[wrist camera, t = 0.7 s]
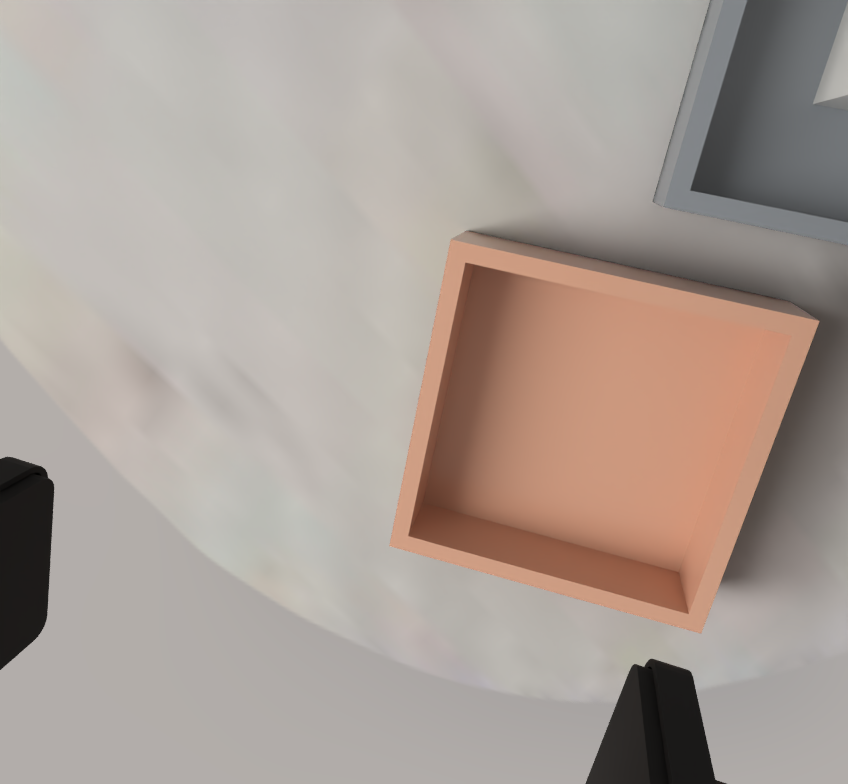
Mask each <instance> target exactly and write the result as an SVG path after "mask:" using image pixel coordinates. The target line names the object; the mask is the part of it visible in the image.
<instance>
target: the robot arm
mask: <svg viewBox="0 0 848 784" xmlns="http://www.w3.org/2000/svg"><path fill="white" fill-rule="evenodd" d="M53 500H54V484H53V482H52V480H50V479H49V478H48V475H47V472H46V470H45V469H44V468H43V467H41V466H38V465H35V464H32V463H29V462H25V461H22V460H19V459H16V458H13V457H5V458H2V459H0V670H1V669H2V668H3V667H4V666H5V665H6V664H8V663H9V662H10V661H11V660H12V659H13V658H15V657H16V656H17V655H18V654H19V653H20V652H21V651H22V650H24V649H25V648H26V647H27V646H28V645H29V644H30V643H32V642H33V641H34V640H35V639H36V638H37V637H38V635H39V634H40V633H41V631H42V629H43V627H44V625H45V622H46V619H47V609H48V590H49V572H50V555H51V537H52V519H53ZM586 784H726V783H722V782H720V781H717V780H715V777H714V772H713V768H712V763H711V758H710V754H709V749H708V744H707V740H706V736H705V731H704V727H703V722H702V717H701V713H700V708H699V703H698V699H697V694H696V689H695V685H694V680H693V676H692V674H691V672H690V671H689V670H686V669H683V668H680V667H677V666H673V665H670V664H667V663H664V662H661V661H657V660H654V659H650V660H648V662H647V663H646V665H645V667H642V666H639V665H636V664H634V665H633V666H632V667H631V669H630V671H629V674H628V676H627V679H626V681H625V684H624V687H623V689H622V692H621V694H620V697H619V699H618V702H617V704H616V707H615V710H614V712H613V715H612V717H611V720H610V722H609V725H608V727H607V730H606V733H605V735H604V738H603V740H602V743H601V745H600V748H599V751H598V753H597V756H596V758H595V761H594V763H593V766H592V769H591V771H590V774H589V776H588V779H587V781H586Z"/></svg>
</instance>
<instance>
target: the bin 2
mask: <svg viewBox="0 0 848 784" xmlns="http://www.w3.org/2000/svg"><path fill="white" fill-rule="evenodd" d="M847 2H848V0H710V3H709V7H708V10H707V14H706V17H705V21H704V24H703V28H702V31H701V35H700V38H699V42H698V45H697V49H696V52H695V56H694V59H693V63H692V66H691V70H690V73H689V77H688V80H687V84H686V87H685V91H684V94H683V98H682V101H681V105H680V108H679V112H678V115H677V118H676V122H675V125H674V129H673V132H672V136H671V139H670V143H669V146H668V150H667V153H666V157H665V160H664V164H663V167H662V171H661V174H660V178H659V181H658V185H657V188H656V192H655V195H654V199H653V202H654V203H656V204H658V205H660V206H662V207H665V208H670V209H675V210H680V211H685V212H690V213H694V214H699V215H704V216H709V217H714V218H719V219H723V220H728V221H733V222H738V223H743V224H748V225H752V226H757V227H762V228H767V229H772V230H777V231H781V232H786V233H791V234H796V235H801V236H806V237H811V238H815V239H820V240H825V241H830V242H835V243H840V244H844V245H848V111H847V110H842V109H837V108H831V107H826V106H820V105H815V104H813V102H814V99H815V96H816V93H817V90H818V87H819V84H820V81H821V78H822V75H823V73H824V70H825V67H826V64H827V61H828V58H829V55H830V52H831V49H832V46H833V43H834V40H835V37H836V35H837V32H838V29H839V26H840V23H841V20H842V17H843V14H844V11H845V8H846V5H847Z"/></svg>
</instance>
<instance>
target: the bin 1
mask: <svg viewBox="0 0 848 784" xmlns="http://www.w3.org/2000/svg"><path fill="white" fill-rule="evenodd" d="M819 322H820V321H819V320H817V319H816V318H814V317H813V316H811V315H810V314H808V313H807V312H805V311H803V310H802V309H800V308H799V307H797V306H796V305H794V304H793V303H791V302H790V301H786V300H781V299H777V298H772V297H768V296H763V295H759V294H754V293H749V292H745V291H740V290H736V289H731V288H727V287H722V286H717V285H713V284H708V283H704V282H699V281H695V280H690V279H685V278H681V277H676V276H672V275H667V274H662V273H658V272H653V271H649V270H644V269H640V268H635V267H630V266H626V265H621V264H617V263H612V262H608V261H603V260H598V259H594V258H589V257H585V256H580V255H576V254H571V253H566V252H562V251H557V250H553V249H548V248H544V247H539V246H534V245H530V244H525V243H521V242H516V241H512V240H507V239H502V238H498V237H493V236H489V235H484V234H480V233H475V232H470V231H465V232H463V233H461V234H460V235H458V236H456V237H454V238H453V239H451V241H450V246H449V251H448V256H447V261H446V266H445V271H444V276H443V281H442V286H441V291H440V296H439V301H438V306H437V311H436V316H435V321H434V326H433V331H432V336H431V341H430V346H429V351H428V356H427V361H426V366H425V371H424V376H423V381H422V386H421V391H420V396H419V401H418V406H417V411H416V416H415V421H414V426H413V431H412V436H411V441H410V446H409V451H408V456H407V461H406V466H405V471H404V476H403V481H402V486H401V491H400V496H399V501H398V506H397V511H396V516H395V521H394V526H393V531H392V536H391V541H390V546H391V547H395V548H398V549H402V550H406V551H409V552H413V553H416V554H420V555H423V556H427V557H430V558H434V559H438V560H441V561H445V562H448V563H452V564H455V565H459V566H463V567H466V568H470V569H473V570H477V571H480V572H484V573H487V574H491V575H495V576H498V577H502V578H505V579H509V580H512V581H516V582H519V583H523V584H527V585H530V586H534V587H537V588H541V589H544V590H548V591H551V592H555V593H559V594H562V595H566V596H569V597H573V598H576V599H580V600H584V601H587V602H591V603H594V604H598V605H601V606H605V607H608V608H612V609H616V610H619V611H623V612H626V613H630V614H633V615H637V616H640V617H644V618H648V619H651V620H655V621H658V622H662V623H665V624H669V625H672V626H676V627H680V628H683V629H687V630H690V631H694V632H697V633H701V632H702V630H703V627H704V624H705V622H706V619H707V616H708V614H709V611H710V609H711V606H712V603H713V601H714V598H715V595H716V593H717V590H718V588H719V585H720V582H721V580H722V577H723V574H724V572H725V569H726V566H727V564H728V561H729V559H730V556H731V553H732V551H733V548H734V545H735V543H736V540H737V537H738V535H739V532H740V530H741V527H742V524H743V522H744V519H745V516H746V514H747V511H748V509H749V506H750V503H751V501H752V498H753V495H754V493H755V490H756V487H757V485H758V482H759V480H760V477H761V474H762V472H763V469H764V466H765V464H766V461H767V458H768V456H769V453H770V451H771V448H772V445H773V443H774V440H775V437H776V435H777V432H778V430H779V427H780V424H781V422H782V419H783V416H784V414H785V411H786V408H787V406H788V403H789V401H790V398H791V395H792V393H793V390H794V387H795V385H796V382H797V379H798V377H799V374H800V372H801V369H802V366H803V364H804V361H805V358H806V356H807V353H808V350H809V348H810V345H811V343H812V340H813V337H814V335H815V332H816V329H817V327H818V324H819Z"/></svg>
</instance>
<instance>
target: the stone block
mask: <svg viewBox="0 0 848 784" xmlns="http://www.w3.org/2000/svg"><path fill="white" fill-rule="evenodd" d="M813 104H815V105H820V106H826V107H831V108H837V109H842V110H847V111H848V2H847V5H846V8H845V11H844V14H843V17H842V20H841V23H840V26H839V29H838V32H837V35H836V37H835V40H834V43H833V46H832V49H831V52H830V55H829V58H828V61H827V64H826V67H825V70H824V73H823V75H822V78H821V81H820V84H819V87H818V90H817V93H816V96H815V99H814V102H813Z"/></svg>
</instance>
